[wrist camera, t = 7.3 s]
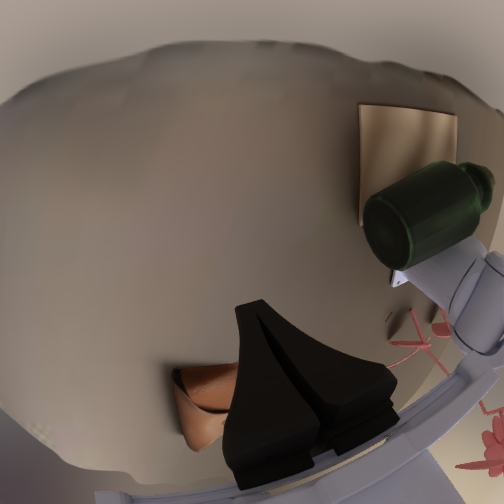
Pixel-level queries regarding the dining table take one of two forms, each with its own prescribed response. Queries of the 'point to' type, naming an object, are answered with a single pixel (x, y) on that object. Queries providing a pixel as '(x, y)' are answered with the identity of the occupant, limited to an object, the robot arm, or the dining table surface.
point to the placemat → (400, 145)
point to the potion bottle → (426, 212)
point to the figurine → (500, 441)
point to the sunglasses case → (203, 401)
